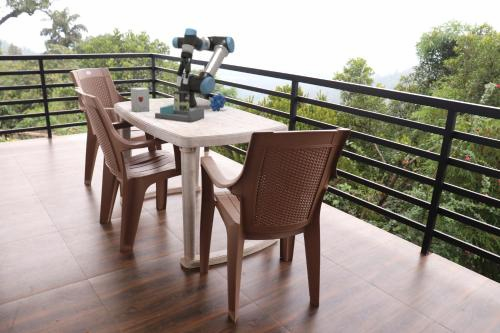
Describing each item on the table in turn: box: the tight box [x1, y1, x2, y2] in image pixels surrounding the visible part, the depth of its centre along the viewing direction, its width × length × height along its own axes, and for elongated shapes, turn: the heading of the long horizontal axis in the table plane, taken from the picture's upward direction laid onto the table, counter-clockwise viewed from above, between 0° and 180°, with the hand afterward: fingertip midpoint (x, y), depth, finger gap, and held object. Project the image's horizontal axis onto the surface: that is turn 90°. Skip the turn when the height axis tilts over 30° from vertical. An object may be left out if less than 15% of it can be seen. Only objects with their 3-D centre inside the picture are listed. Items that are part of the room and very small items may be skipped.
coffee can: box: [173, 90, 190, 111], centre depth 271 cm, size 10×10×14 cm
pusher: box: [159, 104, 174, 115], centre depth 257 cm, size 2×13×6 cm, turn 158°
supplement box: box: [130, 87, 150, 113], centre depth 273 cm, size 9×9×15 cm
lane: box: [154, 106, 205, 123], centre depth 254 cm, size 25×17×7 cm
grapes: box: [209, 93, 227, 112], centre depth 284 cm, size 12×7×12 cm, turn 113°
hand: (181, 84), depth 265 cm, fingers open, 13 cm apart
